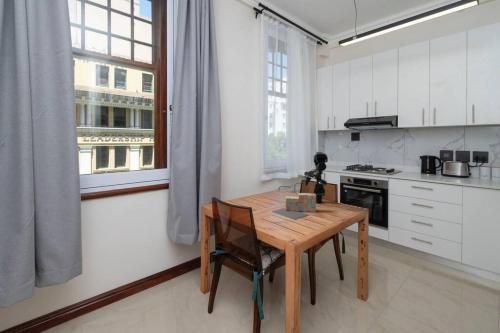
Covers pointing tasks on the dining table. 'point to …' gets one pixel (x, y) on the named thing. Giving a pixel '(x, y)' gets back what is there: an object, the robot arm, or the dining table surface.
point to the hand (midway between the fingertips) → (310, 188)
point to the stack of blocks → (301, 202)
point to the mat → (290, 213)
